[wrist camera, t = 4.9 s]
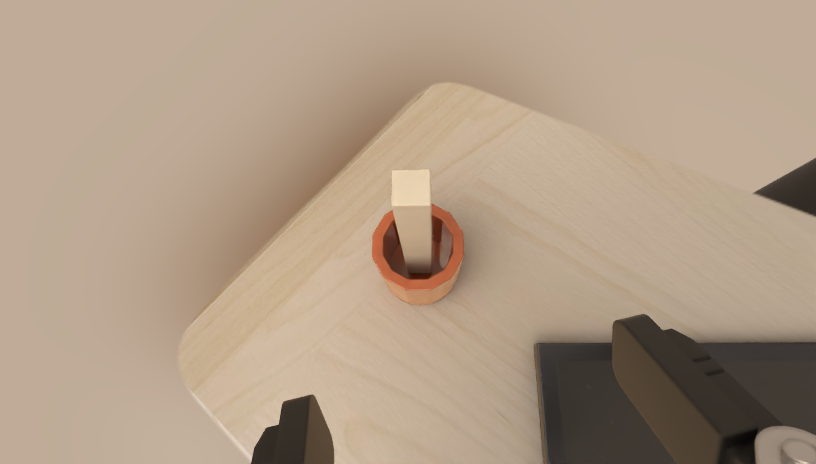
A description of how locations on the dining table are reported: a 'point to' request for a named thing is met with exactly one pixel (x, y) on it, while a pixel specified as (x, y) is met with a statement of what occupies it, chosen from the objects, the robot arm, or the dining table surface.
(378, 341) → the dining table surface
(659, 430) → the robot arm
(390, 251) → the pen pot
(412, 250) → the stylus
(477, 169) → the dining table surface
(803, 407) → the tablet
